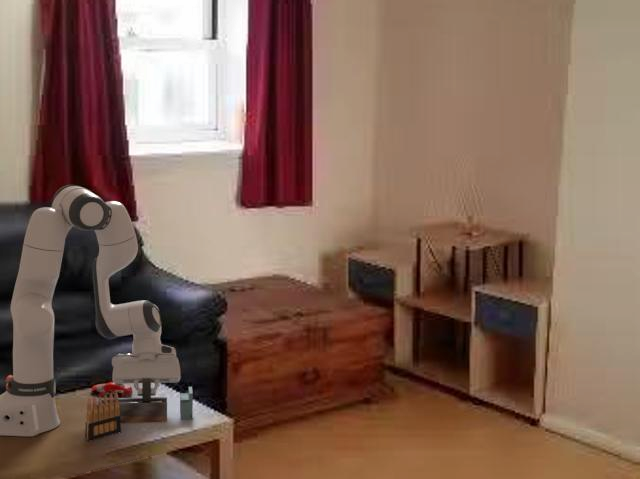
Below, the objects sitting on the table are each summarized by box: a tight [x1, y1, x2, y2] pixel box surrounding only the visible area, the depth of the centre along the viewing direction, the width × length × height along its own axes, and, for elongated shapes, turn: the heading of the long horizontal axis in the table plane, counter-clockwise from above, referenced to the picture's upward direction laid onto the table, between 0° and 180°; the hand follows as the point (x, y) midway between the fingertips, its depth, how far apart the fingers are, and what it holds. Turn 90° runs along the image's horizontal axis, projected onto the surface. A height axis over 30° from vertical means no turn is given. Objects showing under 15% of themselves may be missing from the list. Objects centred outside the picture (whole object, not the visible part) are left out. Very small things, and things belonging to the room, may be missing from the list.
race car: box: [91, 381, 133, 398], centre depth 312 cm, size 13×5×4 cm, turn 77°
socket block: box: [179, 386, 194, 420], centre depth 295 cm, size 4×6×8 cm, turn 10°
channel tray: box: [92, 396, 168, 424], centre depth 292 cm, size 22×9×5 cm, turn 100°
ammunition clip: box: [84, 392, 122, 442], centre depth 277 cm, size 11×2×12 cm, turn 134°
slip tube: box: [108, 378, 162, 404], centre depth 292 cm, size 16×3×10 cm, turn 100°
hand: (146, 395), depth 292 cm, fingers closed on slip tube, 2 cm apart
